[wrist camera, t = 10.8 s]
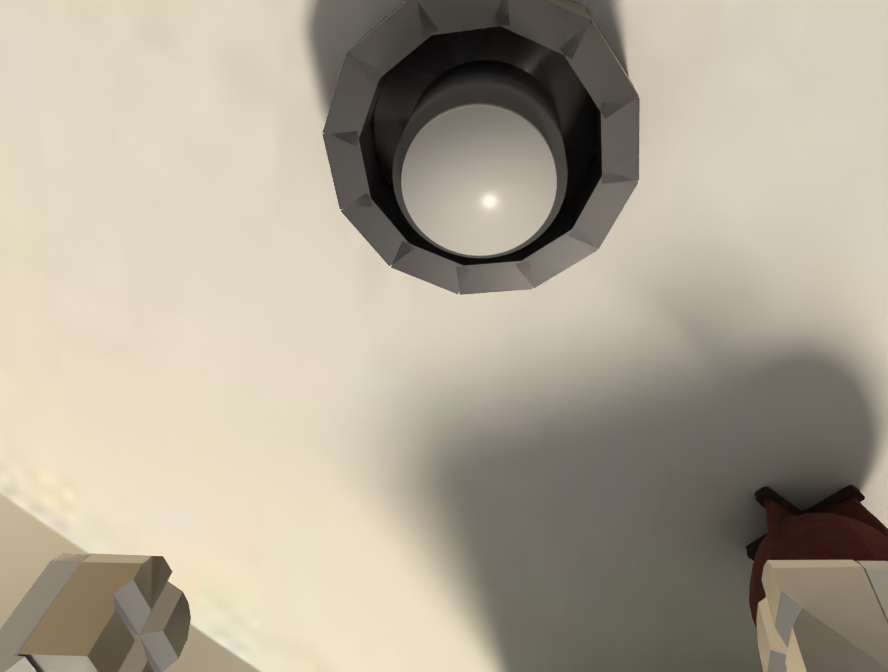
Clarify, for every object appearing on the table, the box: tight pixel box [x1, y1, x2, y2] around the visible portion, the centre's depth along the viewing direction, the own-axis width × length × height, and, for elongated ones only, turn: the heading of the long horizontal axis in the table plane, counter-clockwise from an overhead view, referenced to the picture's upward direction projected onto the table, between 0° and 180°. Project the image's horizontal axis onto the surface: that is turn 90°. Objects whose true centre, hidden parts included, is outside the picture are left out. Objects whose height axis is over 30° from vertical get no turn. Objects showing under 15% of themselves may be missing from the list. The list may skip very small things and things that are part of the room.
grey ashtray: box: [323, 0, 639, 294], centre depth 25 cm, size 10×10×3 cm
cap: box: [392, 60, 568, 258], centre depth 24 cm, size 6×6×4 cm
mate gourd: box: [746, 485, 888, 628], centre depth 29 cm, size 8×8×15 cm
